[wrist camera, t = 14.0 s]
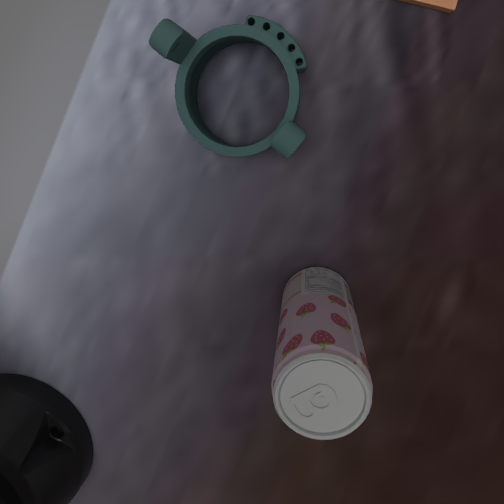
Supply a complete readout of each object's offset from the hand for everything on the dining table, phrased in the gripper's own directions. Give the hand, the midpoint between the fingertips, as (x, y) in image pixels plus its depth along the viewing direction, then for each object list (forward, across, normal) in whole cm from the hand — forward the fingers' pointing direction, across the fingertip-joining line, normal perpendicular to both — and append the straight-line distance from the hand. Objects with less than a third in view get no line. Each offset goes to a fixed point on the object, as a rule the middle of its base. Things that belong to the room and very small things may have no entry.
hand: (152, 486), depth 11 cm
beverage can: (+29, +6, -5) cm, 30 cm away
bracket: (+29, -4, +10) cm, 31 cm away
